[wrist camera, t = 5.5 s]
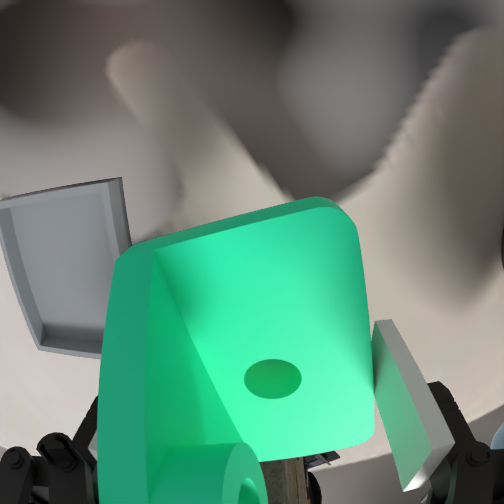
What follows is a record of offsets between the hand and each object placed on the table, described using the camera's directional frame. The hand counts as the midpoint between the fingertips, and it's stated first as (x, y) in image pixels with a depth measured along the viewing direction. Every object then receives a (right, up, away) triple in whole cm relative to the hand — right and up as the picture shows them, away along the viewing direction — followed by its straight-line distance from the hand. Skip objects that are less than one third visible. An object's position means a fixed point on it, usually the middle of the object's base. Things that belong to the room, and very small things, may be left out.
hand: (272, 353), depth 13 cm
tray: (-18, +2, +14) cm, 22 cm away
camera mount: (0, 0, +1) cm, 1 cm away
